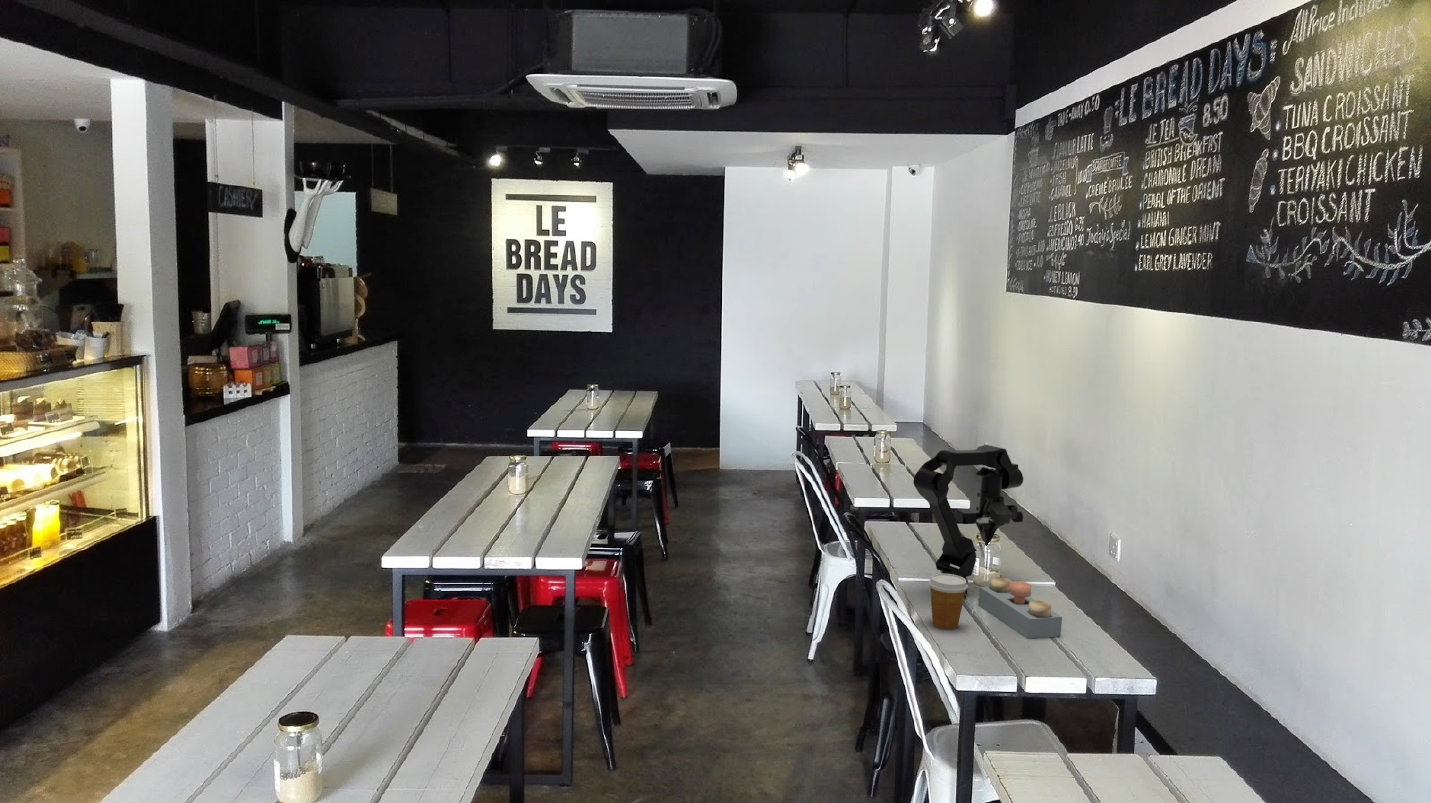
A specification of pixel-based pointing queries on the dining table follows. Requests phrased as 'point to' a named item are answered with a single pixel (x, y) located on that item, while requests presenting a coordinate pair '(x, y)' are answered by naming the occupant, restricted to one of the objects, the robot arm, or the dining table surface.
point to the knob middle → (1020, 591)
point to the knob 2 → (1040, 608)
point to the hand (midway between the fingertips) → (986, 545)
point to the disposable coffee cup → (947, 599)
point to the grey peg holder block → (1019, 614)
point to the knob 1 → (1000, 584)
